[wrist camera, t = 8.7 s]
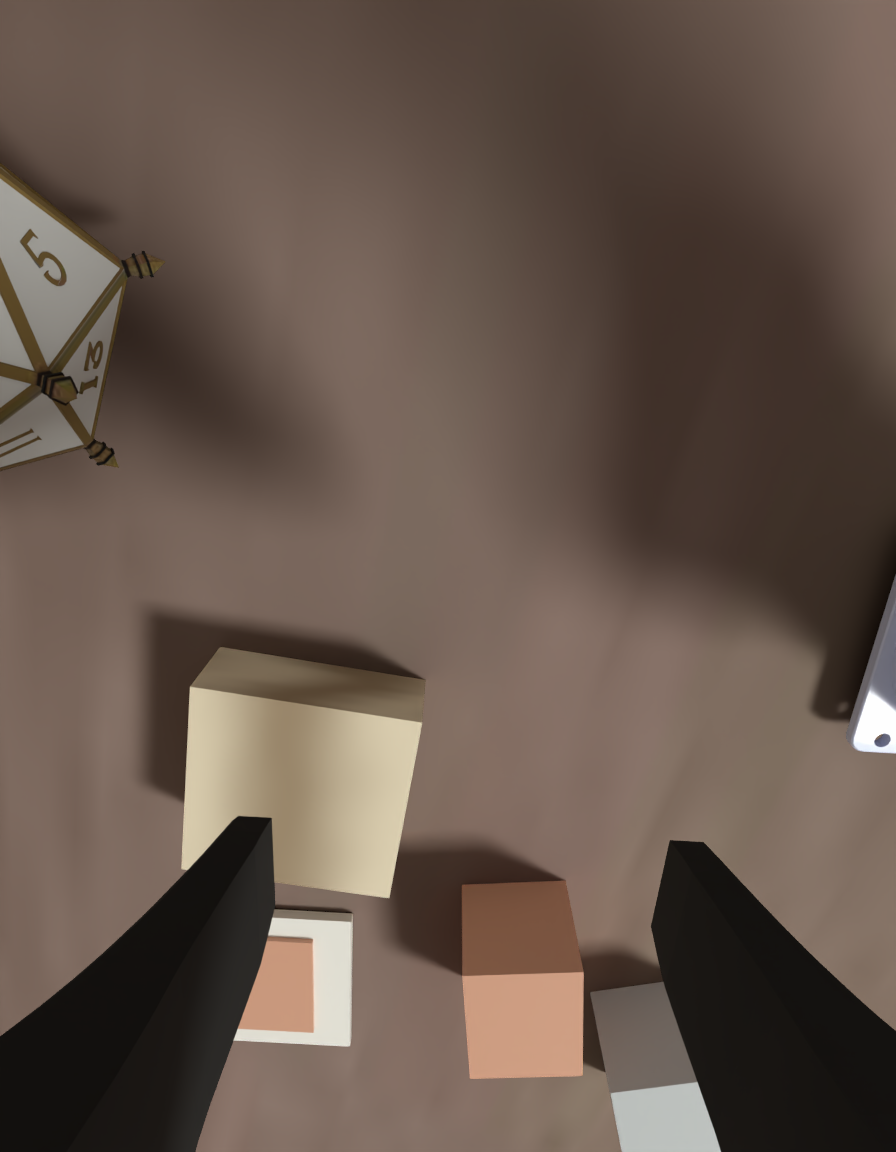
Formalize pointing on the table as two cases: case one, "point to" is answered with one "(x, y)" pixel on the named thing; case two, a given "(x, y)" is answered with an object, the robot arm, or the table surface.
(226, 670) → the maple block
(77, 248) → the game die
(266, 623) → the table surface
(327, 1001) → the tile
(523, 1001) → the terracotta block
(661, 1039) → the grey block
